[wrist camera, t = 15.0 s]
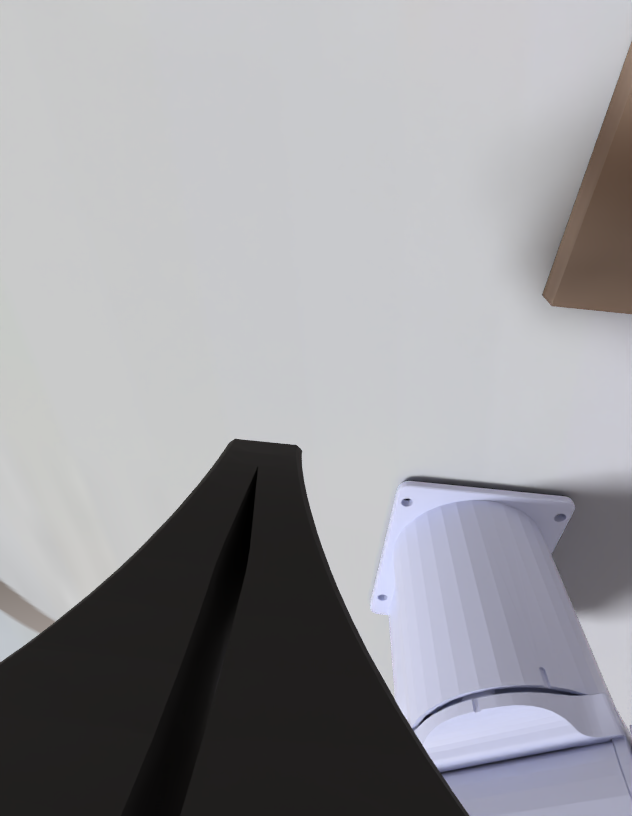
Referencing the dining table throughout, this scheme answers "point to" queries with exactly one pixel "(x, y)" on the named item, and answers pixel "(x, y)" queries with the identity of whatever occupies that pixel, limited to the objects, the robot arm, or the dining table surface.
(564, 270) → the rack
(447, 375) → the dining table surface
